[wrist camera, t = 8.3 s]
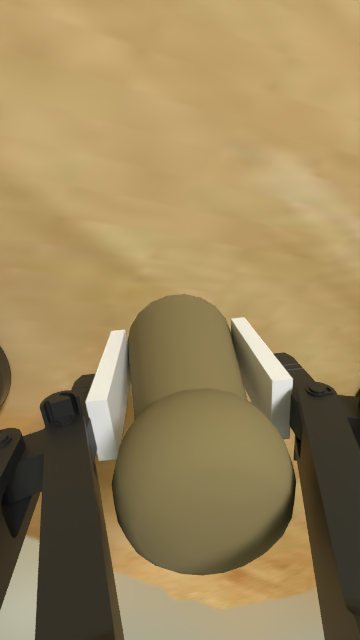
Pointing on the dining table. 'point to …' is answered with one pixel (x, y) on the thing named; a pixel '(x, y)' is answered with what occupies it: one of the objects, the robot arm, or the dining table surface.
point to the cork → (197, 448)
